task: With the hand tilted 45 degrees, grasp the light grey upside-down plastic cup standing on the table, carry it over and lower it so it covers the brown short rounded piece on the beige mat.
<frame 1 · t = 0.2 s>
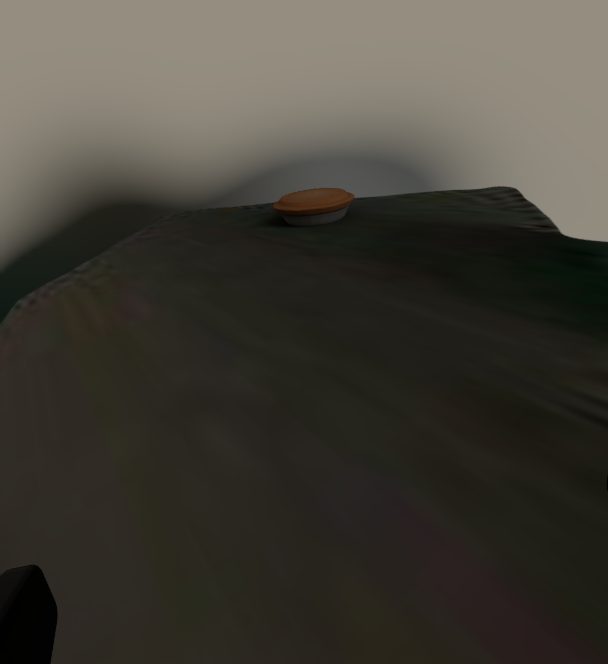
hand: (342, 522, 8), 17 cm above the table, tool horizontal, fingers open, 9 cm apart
pie: (315, 219, 98), on the table
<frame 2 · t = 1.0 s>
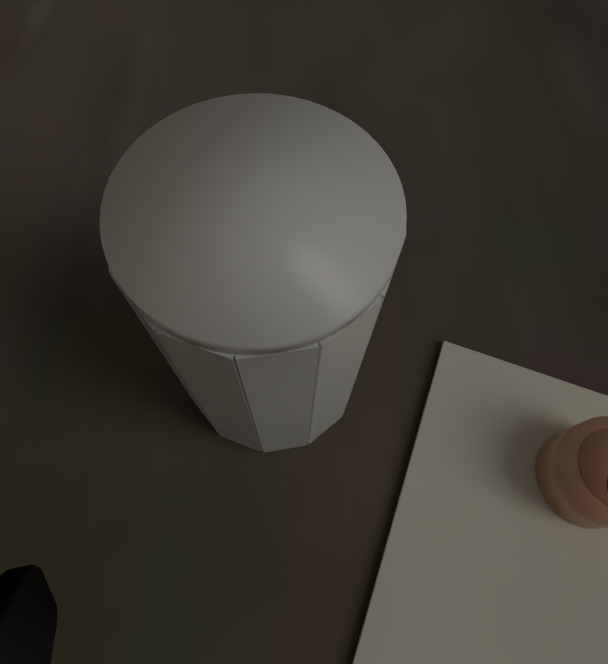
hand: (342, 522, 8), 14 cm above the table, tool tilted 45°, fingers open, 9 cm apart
cover cup: (273, 368, 23), on the table
placemat: (590, 586, 20), on the table
brown short rounded piece: (583, 477, 21), resting on placemat
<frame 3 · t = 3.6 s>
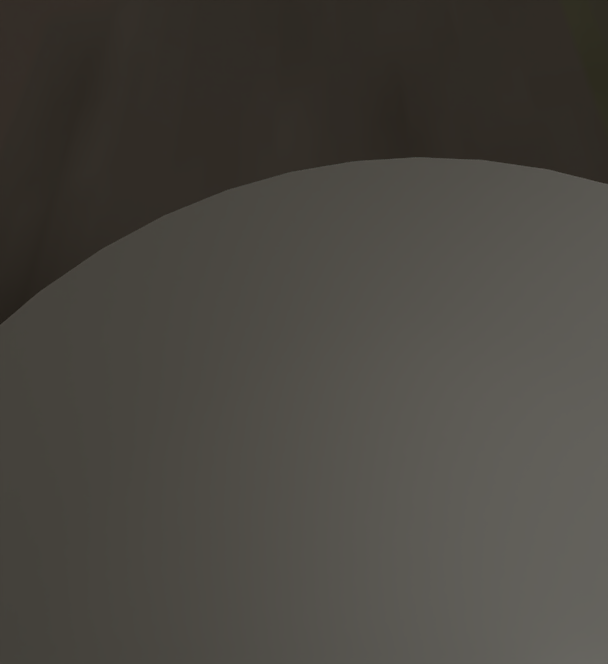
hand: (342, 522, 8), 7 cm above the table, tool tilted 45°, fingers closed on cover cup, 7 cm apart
cover cup: (331, 588, 13), on the table, touching gripper
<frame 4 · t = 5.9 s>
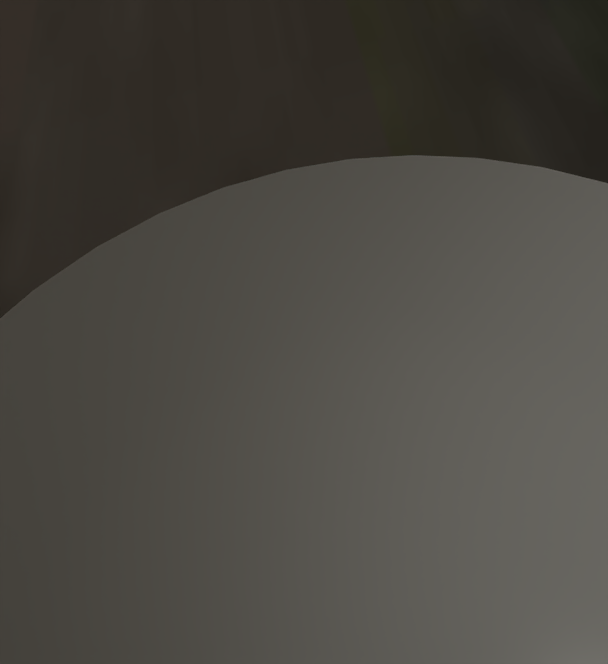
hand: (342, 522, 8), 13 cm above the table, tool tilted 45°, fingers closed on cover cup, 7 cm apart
cover cup: (330, 587, 13), point 7 cm above the table, touching gripper
when the fingers open (8 cm above the table, at t = 8.6 s): cover cup drops 1 cm, resting on placemat.
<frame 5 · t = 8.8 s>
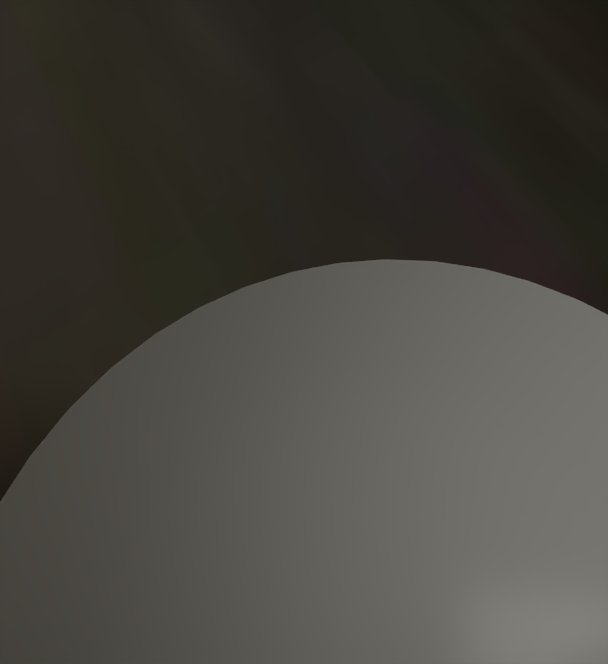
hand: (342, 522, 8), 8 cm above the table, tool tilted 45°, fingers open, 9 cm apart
cover cup: (328, 584, 15), resting on placemat
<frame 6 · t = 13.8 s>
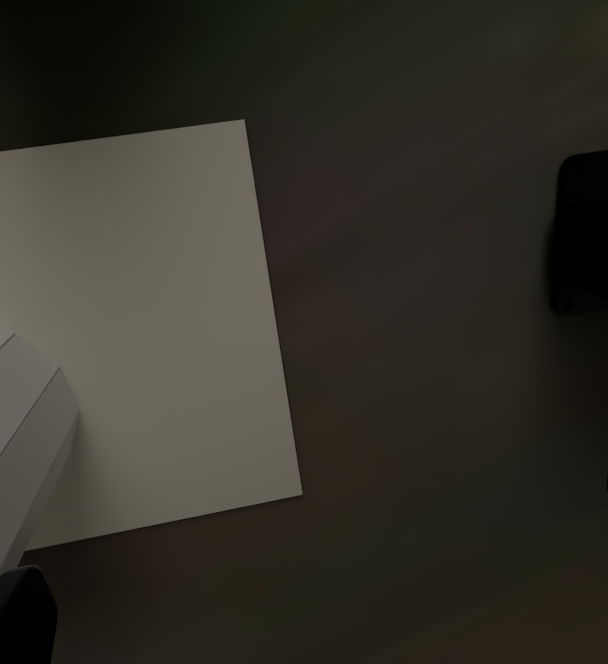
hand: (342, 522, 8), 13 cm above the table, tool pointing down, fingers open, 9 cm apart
placemat: (74, 367, 20), on the table
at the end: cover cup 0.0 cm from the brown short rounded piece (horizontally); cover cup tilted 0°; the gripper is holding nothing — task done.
